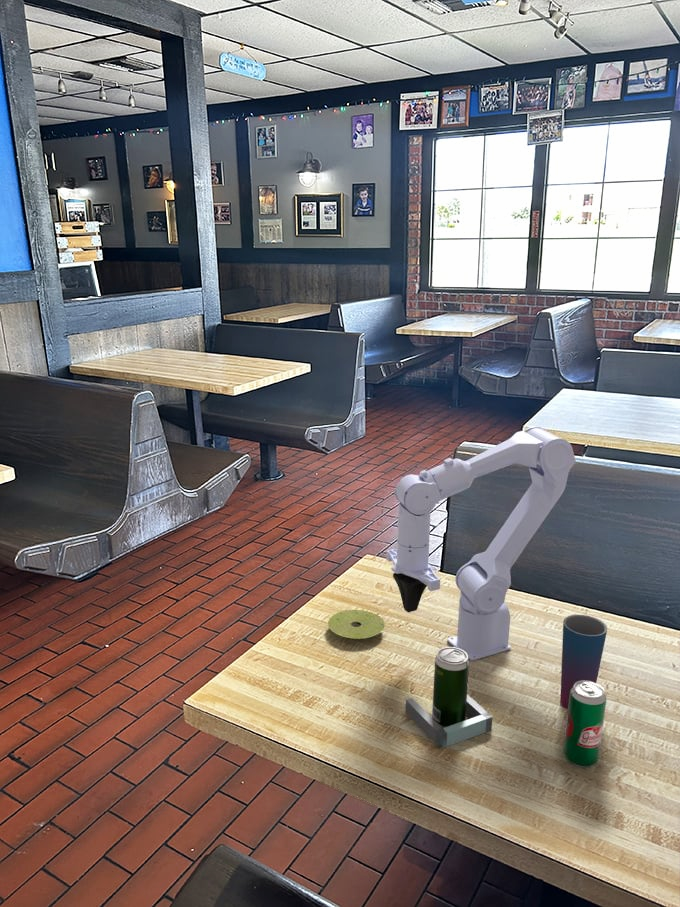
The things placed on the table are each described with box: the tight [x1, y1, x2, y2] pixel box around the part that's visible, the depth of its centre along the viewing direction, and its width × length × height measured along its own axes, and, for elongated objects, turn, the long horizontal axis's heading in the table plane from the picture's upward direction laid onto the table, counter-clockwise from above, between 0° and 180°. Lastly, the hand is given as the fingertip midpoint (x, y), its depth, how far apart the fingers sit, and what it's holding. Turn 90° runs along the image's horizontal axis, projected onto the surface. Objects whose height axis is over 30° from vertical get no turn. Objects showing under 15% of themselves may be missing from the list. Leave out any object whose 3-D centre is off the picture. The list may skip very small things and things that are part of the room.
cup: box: [559, 614, 608, 711], centre depth 118 cm, size 7×7×15 cm
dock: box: [404, 694, 493, 750], centre depth 115 cm, size 10×10×2 cm
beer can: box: [431, 646, 470, 728], centre depth 114 cm, size 5×5×12 cm
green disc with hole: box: [327, 609, 385, 640], centre depth 142 cm, size 11×11×2 cm
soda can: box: [562, 680, 607, 768], centre depth 106 cm, size 5×5×12 cm
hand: (410, 609), depth 132 cm, fingers closed
